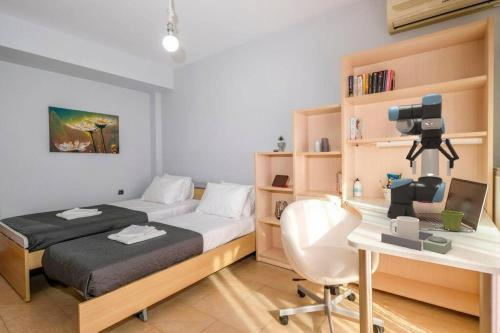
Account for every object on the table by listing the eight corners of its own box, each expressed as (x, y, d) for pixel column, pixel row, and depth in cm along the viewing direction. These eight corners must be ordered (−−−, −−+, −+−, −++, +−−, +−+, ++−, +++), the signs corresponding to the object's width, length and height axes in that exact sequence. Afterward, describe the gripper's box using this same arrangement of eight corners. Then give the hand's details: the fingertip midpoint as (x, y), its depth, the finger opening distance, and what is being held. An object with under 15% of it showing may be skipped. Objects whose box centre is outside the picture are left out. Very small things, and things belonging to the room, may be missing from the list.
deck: (395, 233, 123) (395, 225, 123) (453, 245, 107) (453, 236, 106) (381, 241, 113) (381, 232, 113) (442, 255, 96) (442, 245, 96)
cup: (412, 246, 106) (413, 222, 106) (384, 238, 117) (384, 216, 116) (422, 242, 111) (422, 219, 110) (394, 235, 121) (394, 214, 121)
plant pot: (448, 226, 134) (448, 209, 134) (468, 231, 126) (468, 213, 125) (435, 228, 132) (435, 211, 131) (455, 233, 123) (455, 215, 122)
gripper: (398, 130, 125) (398, 174, 126) (464, 126, 106) (462, 177, 107) (404, 131, 130) (404, 173, 131) (468, 126, 111) (467, 175, 112)
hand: (430, 175), depth 119 cm, fingers open, 13 cm apart
